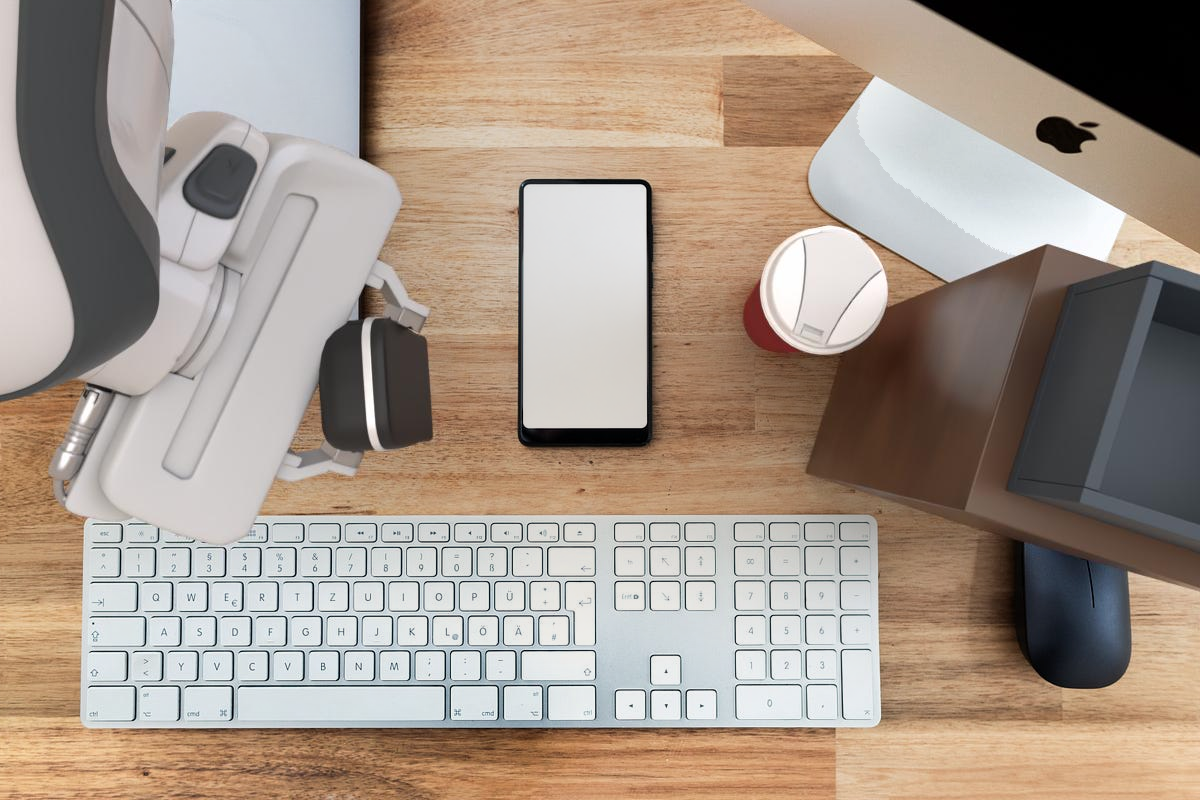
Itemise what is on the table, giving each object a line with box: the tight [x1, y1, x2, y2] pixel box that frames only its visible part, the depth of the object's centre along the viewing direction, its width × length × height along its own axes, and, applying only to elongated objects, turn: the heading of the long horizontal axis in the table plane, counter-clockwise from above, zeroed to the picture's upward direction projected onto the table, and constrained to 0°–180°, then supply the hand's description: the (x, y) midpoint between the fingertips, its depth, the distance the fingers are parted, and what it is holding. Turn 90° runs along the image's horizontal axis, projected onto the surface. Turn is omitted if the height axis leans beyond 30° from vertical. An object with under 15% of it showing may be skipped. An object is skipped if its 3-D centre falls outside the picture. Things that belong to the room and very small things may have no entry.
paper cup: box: [742, 224, 888, 355], centre depth 58 cm, size 8×8×14 cm
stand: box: [805, 243, 1200, 593], centre depth 50 cm, size 12×14×28 cm
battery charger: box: [318, 316, 434, 452], centre depth 48 cm, size 7×4×11 cm, turn 4°
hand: (388, 389), depth 48 cm, fingers closed on battery charger, 7 cm apart
